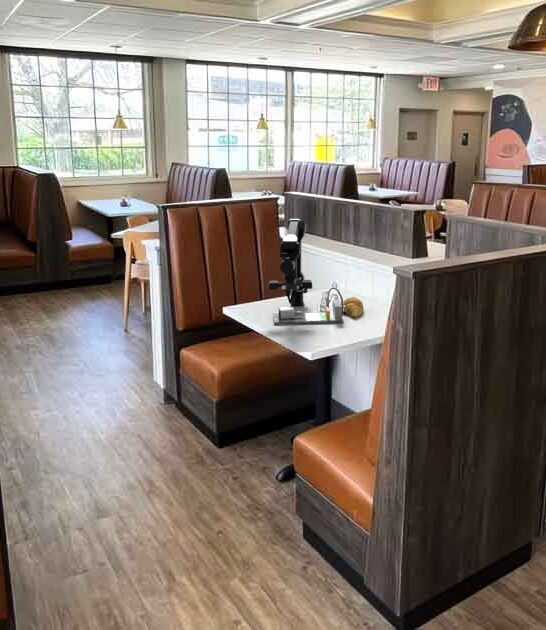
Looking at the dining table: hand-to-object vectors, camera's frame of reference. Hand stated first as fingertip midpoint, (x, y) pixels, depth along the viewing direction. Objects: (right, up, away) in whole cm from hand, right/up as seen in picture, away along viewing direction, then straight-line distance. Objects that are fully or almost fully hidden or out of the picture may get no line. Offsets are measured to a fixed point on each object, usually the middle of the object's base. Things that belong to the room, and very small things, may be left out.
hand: (290, 303), depth 275 cm
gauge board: (+8, -7, +3) cm, 11 cm away
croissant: (+28, -4, +13) cm, 31 cm away
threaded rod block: (0, -6, +2) cm, 6 cm away
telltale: (+16, -5, +2) cm, 17 cm away
